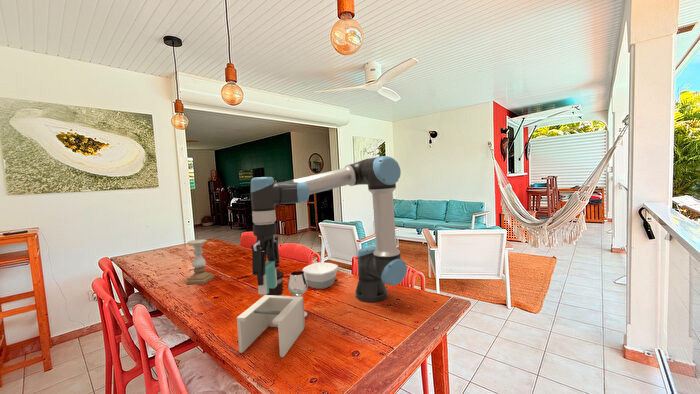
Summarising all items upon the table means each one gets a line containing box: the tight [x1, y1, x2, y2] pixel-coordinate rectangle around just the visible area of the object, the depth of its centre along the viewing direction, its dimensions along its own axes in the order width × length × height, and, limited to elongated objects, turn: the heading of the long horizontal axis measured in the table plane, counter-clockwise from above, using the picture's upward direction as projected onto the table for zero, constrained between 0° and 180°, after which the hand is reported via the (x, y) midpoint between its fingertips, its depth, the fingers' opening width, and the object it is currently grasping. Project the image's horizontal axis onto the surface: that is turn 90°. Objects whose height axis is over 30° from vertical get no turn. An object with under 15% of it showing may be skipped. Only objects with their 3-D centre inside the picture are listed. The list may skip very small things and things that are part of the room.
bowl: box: [301, 262, 339, 290], centre depth 149 cm, size 18×18×9 cm
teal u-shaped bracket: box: [264, 260, 276, 294], centre depth 95 cm, size 2×6×9 cm, turn 168°
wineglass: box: [287, 270, 309, 318], centre depth 116 cm, size 8×8×18 cm
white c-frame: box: [236, 294, 306, 358], centre depth 99 cm, size 16×18×12 cm
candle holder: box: [185, 238, 215, 286], centre depth 163 cm, size 11×11×24 cm
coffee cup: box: [266, 268, 284, 296], centre depth 129 cm, size 10×10×15 cm
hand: (268, 289), depth 95 cm, fingers closed on teal u-shaped bracket, 6 cm apart
